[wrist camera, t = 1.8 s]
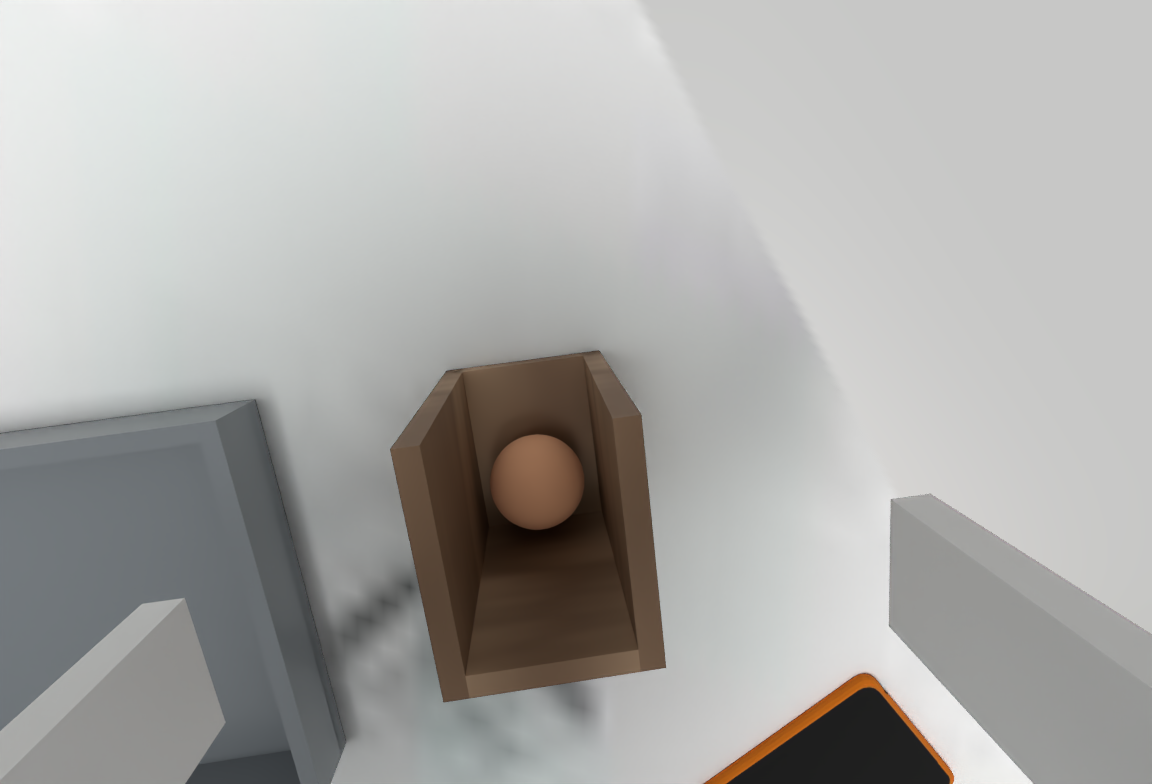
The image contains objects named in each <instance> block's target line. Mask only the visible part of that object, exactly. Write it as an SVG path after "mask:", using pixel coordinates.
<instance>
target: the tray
mask: <svg viewBox="0 0 1152 784" xmlns="http://www.w3.org/2000/svg"><path fill="white" fill-rule="evenodd" d="M180 598H185V601H186V604H187V607H188V610H189V613H190V616H191V619H192V622H193V625H194V628H195V631H196V634H197V637H198V640H199V643H200V646H201V649H202V652H203V655H204V658H205V661H206V664H207V668H208V671H209V674H210V677H211V680H212V683H213V686H214V689H215V692H216V695H217V698H218V701H219V704H220V707H221V710H222V713H223V716H224V719H225V722H226V723H225V724H224V726H223V727H222V729H221V730H220V732H219V733H218V735H217V736H216V738H215V739H214V741H213V742H212V744H211V745H210V747H209V748H208V750H207V751H206V753H205V755H204V756H203V758H202V759H201V761H200V762H199V764H198V765H197V767H196V768H195V770H194V771H193V773H192V774H191V776H190V777H189V779H188V780H187V782H186V783H185V784H331V781H332V778H333V776H334V773H335V770H336V768H337V765H338V763H339V760H340V757H341V755H342V752H343V749H344V747H345V744H346V741H345V737H344V733H343V729H342V726H341V722H340V718H339V714H338V710H337V707H336V703H335V699H334V695H333V692H332V688H331V684H330V680H329V677H328V673H327V669H326V665H325V661H324V658H323V654H322V650H321V646H320V643H319V639H318V635H317V631H316V628H315V624H314V620H313V616H312V612H311V609H310V605H309V601H308V597H307V594H306V590H305V586H304V582H303V579H302V575H301V571H300V567H299V563H298V560H297V556H296V552H295V548H294V545H293V541H292V537H291V533H290V530H289V526H288V522H287V518H286V515H285V511H284V507H283V503H282V499H281V496H280V492H279V488H278V484H277V481H276V477H275V473H274V469H273V466H272V462H271V458H270V454H269V450H268V447H267V443H266V439H265V435H264V432H263V428H262V424H261V420H260V417H259V413H258V409H257V405H256V401H255V399H254V400H247V401H239V402H232V403H224V404H217V405H209V406H202V407H194V408H187V409H179V410H172V411H164V412H157V413H149V414H142V415H134V416H127V417H119V418H112V419H104V420H97V421H89V422H82V423H74V424H67V425H59V426H52V427H44V428H37V429H29V430H22V431H14V432H7V433H0V731H1V730H2V729H3V728H4V727H5V726H6V725H8V724H9V723H10V722H11V721H12V720H13V719H14V718H15V717H17V716H18V715H19V714H20V713H21V712H22V711H23V710H24V709H25V708H27V707H28V706H29V705H30V704H31V703H32V702H33V701H34V700H35V699H37V698H38V697H39V696H40V695H41V694H42V693H43V692H44V691H45V690H47V689H48V688H49V687H50V686H51V685H52V684H53V683H54V682H55V681H57V680H58V679H59V678H60V677H61V676H62V675H63V674H64V673H66V672H67V671H68V670H69V669H70V668H71V667H72V666H73V665H74V664H76V663H77V662H78V661H79V660H80V659H81V658H82V657H83V656H84V655H86V654H87V653H88V652H89V651H90V650H91V649H92V648H93V647H94V646H96V645H97V644H98V643H99V642H100V641H101V640H102V639H103V638H104V637H106V636H107V635H108V634H109V633H110V632H111V631H112V630H113V629H114V628H116V627H117V626H118V625H119V624H120V623H121V622H122V621H123V620H125V619H126V618H127V617H128V616H129V615H130V614H131V613H132V612H133V611H135V610H136V609H137V608H138V607H139V606H140V605H141V604H145V603H152V602H159V601H166V600H173V599H180Z"/></svg>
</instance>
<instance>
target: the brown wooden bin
mask: <svg viewBox="0 0 1152 784" xmlns="http://www.w3.org/2000/svg"><path fill="white" fill-rule="evenodd" d="M536 434H539V435H547V436H551V437H554V438H557V439H559V440H561V441H562V442H564V443H565V444H567V445H568V446H569V447H570V448H571V449H572V450H573V451H574V452H575V454H576V455H577V457H578V458H579V460H580V462H581V465H582V468H583V472H584V491H583V495H582V498H581V501H580V503H579V505H578V507H577V508H576V510H575V511H574V512H573V513H572V515H571V516H570V517H568V518H567V519H566V520H565V521H563V522H562V523H560V524H558V525H556V526H554V527H551V528H548V529H542V530H531V529H526V528H522V527H519V526H517V525H515V524H513V523H512V522H510V521H509V520H508V519H506V518H505V517H504V516H503V515H502V514H501V512H500V511H499V510H498V508H497V507H496V505H495V503H494V501H493V498H492V495H491V490H490V476H491V471H492V468H493V465H494V462H495V460H496V458H497V457H498V455H499V454H500V452H501V451H502V450H503V449H504V448H505V447H506V446H507V445H509V444H510V443H511V442H513V441H515V440H517V439H519V438H521V437H524V436H528V435H536ZM390 451H391V456H392V460H393V465H394V470H395V474H396V479H397V484H398V489H399V493H400V498H401V503H402V508H403V512H404V517H405V522H406V527H407V531H408V536H409V541H410V546H411V550H412V555H413V560H414V564H415V569H416V574H417V579H418V583H419V588H420V593H421V598H422V602H423V607H424V612H425V617H426V621H427V626H428V631H429V636H430V640H431V645H432V650H433V654H434V659H435V664H436V669H437V673H438V678H439V683H440V688H441V692H442V697H443V702H449V701H456V700H462V699H469V698H475V697H481V696H488V695H494V694H501V693H507V692H514V691H520V690H526V689H533V688H539V687H546V686H552V685H558V684H565V683H571V682H578V681H584V680H591V679H597V678H603V677H610V676H616V675H623V674H629V673H635V672H642V671H648V670H655V669H661V668H666V662H665V652H664V642H663V631H662V621H661V611H660V601H659V591H658V580H657V570H656V560H655V550H654V540H653V530H652V519H651V509H650V499H649V489H648V479H647V468H646V458H645V448H644V438H643V428H642V418H641V414H640V412H639V411H638V409H637V408H636V406H635V405H634V403H633V401H632V400H631V398H630V397H629V395H628V394H627V392H626V391H625V389H624V388H623V386H622V385H621V383H620V382H619V380H618V379H617V377H616V376H615V374H614V373H613V371H612V370H611V368H610V366H609V365H608V363H607V362H606V360H605V359H604V357H603V356H602V354H601V353H600V351H592V352H584V353H577V354H569V355H562V356H554V357H547V358H539V359H532V360H524V361H517V362H509V363H502V364H494V365H487V366H479V367H472V368H464V369H457V370H449V371H446V372H445V374H444V375H443V376H442V378H441V379H440V381H439V382H438V383H437V385H436V386H435V388H434V389H433V390H432V392H431V393H430V395H429V396H428V397H427V399H426V400H425V402H424V403H423V404H422V406H421V407H420V409H419V410H418V411H417V413H416V414H415V416H414V417H413V418H412V420H411V421H410V422H409V424H408V425H407V427H406V428H405V429H404V431H403V432H402V434H401V435H400V436H399V438H398V439H397V441H396V442H395V443H394V445H393V446H392V448H391V449H390Z"/></svg>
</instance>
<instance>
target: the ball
mask: <svg viewBox="0 0 1152 784" xmlns="http://www.w3.org/2000/svg"><path fill="white" fill-rule="evenodd" d="M490 490H491V495H492V498H493V501H494V503H495V505H496V507H497V508H498V510H499V511H500V512H501V514H502V515H503V516H504V517H505V518H506V519H508V520H509V521H510V522H512V523H513V524H515V525H517V526H519V527H522V528H526V529H531V530H542V529H548V528H551V527H554V526H556V525H558V524H560V523H562V522H563V521H565V520H566V519H567V518H568V517H570V516H571V515H572V513H573V512H574V511H575V510H576V508H577V507H578V505H579V503H580V501H581V498H582V495H583V491H584V472H583V468H582V465H581V462H580V460H579V458H578V457H577V455H576V454H575V452H574V451H573V450H572V449H571V448H570V447H569V446H568V445H567V444H565V443H564V442H562V441H561V440H559V439H557V438H554V437H551V436H547V435H539V434H536V435H528V436H524V437H521V438H519V439H517V440H515V441H513V442H511V443H510V444H509V445H507V446H506V447H505V448H504V449H503V450H502V451H501V452H500V454H499V455H498V457H497V458H496V460H495V462H494V465H493V468H492V471H491V476H490Z"/></svg>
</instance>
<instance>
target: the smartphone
mask: <svg viewBox="0 0 1152 784" xmlns="http://www.w3.org/2000/svg"><path fill="white" fill-rule="evenodd" d="M953 782H954V776H953V773H952V771H951V770H950V769H949V767H948V766H947V765H946V764H945V762H944V761H943V760H942V759H941V758H940V756H939V755H938V754H937V753H936V752H935V750H934V749H933V748H932V747H931V746H930V744H929V743H928V742H927V741H926V739H925V738H924V737H923V736H922V735H921V733H920V732H919V731H918V730H917V729H916V727H915V726H914V725H913V724H912V722H911V721H910V720H909V719H908V718H907V716H906V715H905V714H904V713H903V712H902V710H901V709H900V708H899V707H898V705H897V704H896V703H895V702H894V701H893V699H892V698H891V697H890V696H889V695H888V693H887V692H886V691H885V690H883V688H882V686H881V685H880V684H879V682H878V681H877V680H876V679H875V678H874V677H872V676H871V675H868V674H859V675H857V676H855V677H853V678H852V679H850V680H849V681H847V682H846V683H845V684H843V685H842V686H840V687H839V688H838V689H836V690H835V691H833V692H832V693H831V694H829V695H828V696H826V697H825V698H824V699H822V700H821V701H819V702H818V703H817V704H815V705H814V706H812V707H811V708H810V709H808V710H807V711H805V712H804V713H803V714H801V715H800V716H798V717H797V718H796V719H794V720H793V721H791V722H790V723H789V724H787V725H786V726H784V727H783V728H782V729H780V730H779V731H777V732H776V733H775V734H773V735H772V736H770V737H769V738H768V739H766V740H765V741H763V742H762V743H761V744H759V745H758V746H756V747H755V748H753V749H752V750H751V751H749V752H748V753H746V754H745V755H744V756H742V757H741V758H739V759H738V760H737V761H735V762H734V763H732V764H731V765H730V766H728V767H727V768H725V769H724V770H723V771H721V772H720V773H718V774H717V775H716V776H714V777H713V778H711V779H710V780H709V781H707V782H706V783H704V784H953Z"/></svg>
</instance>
